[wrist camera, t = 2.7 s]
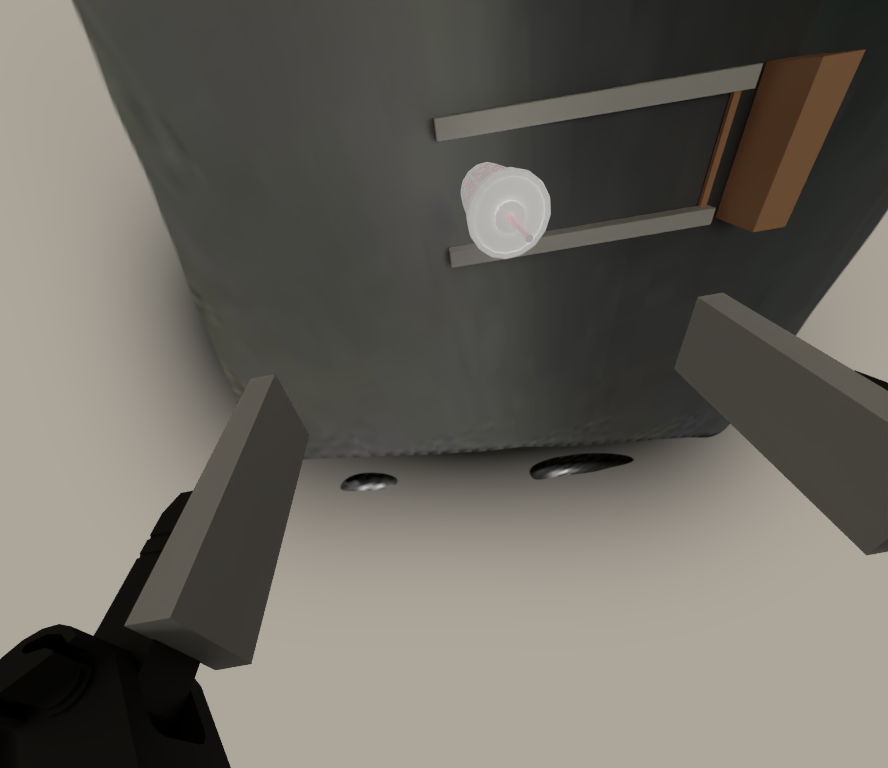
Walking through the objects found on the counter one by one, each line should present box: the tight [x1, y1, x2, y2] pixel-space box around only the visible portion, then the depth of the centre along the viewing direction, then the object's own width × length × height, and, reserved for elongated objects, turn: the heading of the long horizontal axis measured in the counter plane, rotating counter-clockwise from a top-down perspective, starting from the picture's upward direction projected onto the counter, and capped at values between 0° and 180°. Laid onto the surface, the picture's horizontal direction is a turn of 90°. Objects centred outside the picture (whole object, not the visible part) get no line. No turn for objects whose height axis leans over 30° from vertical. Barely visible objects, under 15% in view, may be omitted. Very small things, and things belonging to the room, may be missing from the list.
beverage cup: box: [461, 162, 551, 259], centre depth 28 cm, size 6×6×14 cm
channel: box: [433, 49, 866, 268], centre depth 31 cm, size 30×12×5 cm, turn 97°
